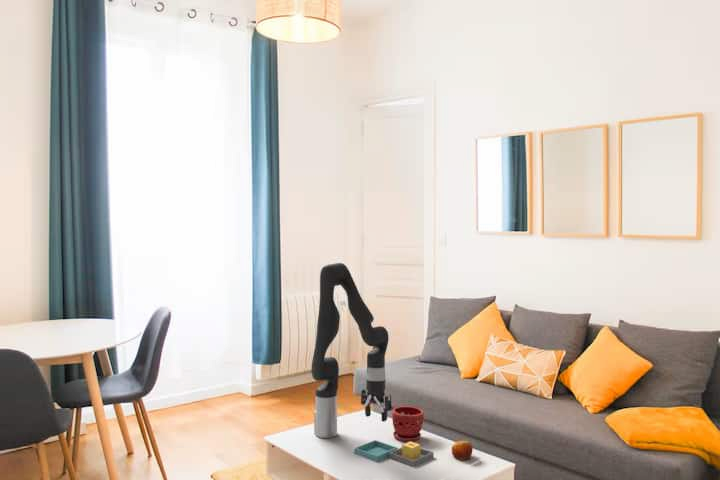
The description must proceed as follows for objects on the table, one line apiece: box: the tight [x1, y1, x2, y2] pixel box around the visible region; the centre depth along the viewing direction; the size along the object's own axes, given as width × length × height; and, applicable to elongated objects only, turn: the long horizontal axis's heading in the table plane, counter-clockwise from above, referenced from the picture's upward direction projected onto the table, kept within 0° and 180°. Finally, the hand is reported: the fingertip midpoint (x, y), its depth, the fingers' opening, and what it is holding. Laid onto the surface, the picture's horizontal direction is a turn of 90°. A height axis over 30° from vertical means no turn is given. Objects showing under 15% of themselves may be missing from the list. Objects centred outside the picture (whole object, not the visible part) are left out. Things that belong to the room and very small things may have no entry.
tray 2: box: [388, 446, 435, 468], centre depth 233 cm, size 12×12×2 cm
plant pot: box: [391, 406, 424, 443], centre depth 255 cm, size 13×13×12 cm
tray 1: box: [353, 439, 399, 462], centre depth 238 cm, size 12×12×2 cm
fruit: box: [451, 440, 474, 461], centre depth 233 cm, size 8×8×8 cm
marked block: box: [401, 441, 421, 460], centre depth 233 cm, size 5×5×5 cm
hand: (376, 418), depth 238 cm, fingers open, 8 cm apart
